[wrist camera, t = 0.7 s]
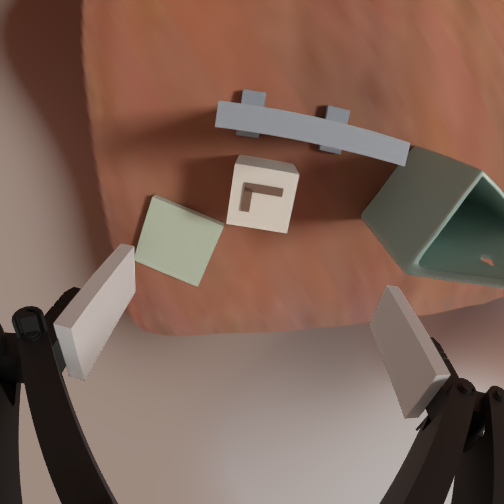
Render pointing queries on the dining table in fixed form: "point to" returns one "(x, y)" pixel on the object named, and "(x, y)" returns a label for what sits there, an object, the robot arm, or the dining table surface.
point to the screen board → (308, 128)
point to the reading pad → (177, 240)
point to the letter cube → (262, 193)
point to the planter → (441, 220)
